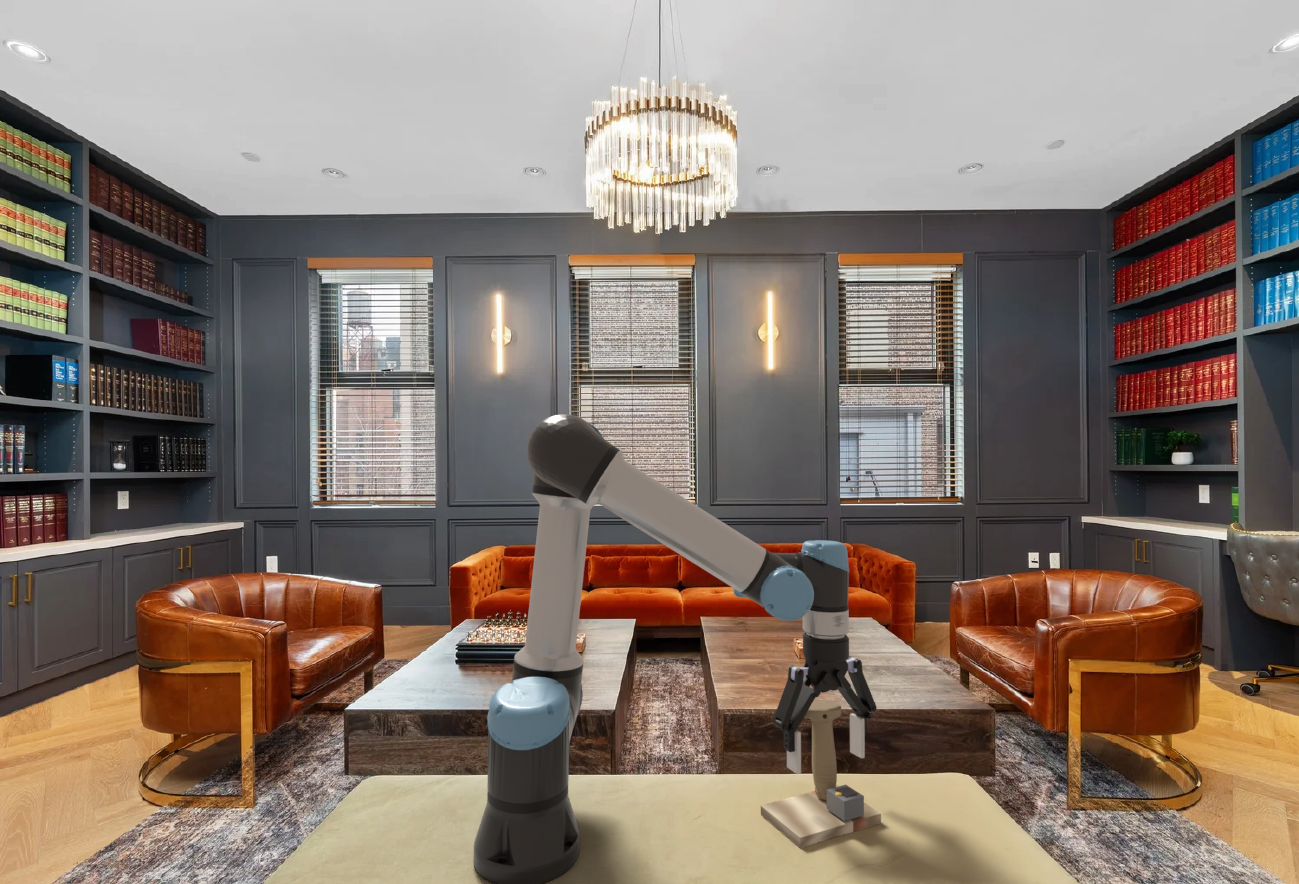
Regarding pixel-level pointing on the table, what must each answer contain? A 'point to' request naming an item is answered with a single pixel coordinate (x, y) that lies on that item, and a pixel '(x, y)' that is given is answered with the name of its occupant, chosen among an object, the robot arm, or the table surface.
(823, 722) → the handle
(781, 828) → the plank
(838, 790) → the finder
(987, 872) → the table surface
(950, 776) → the table surface
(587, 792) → the table surface
